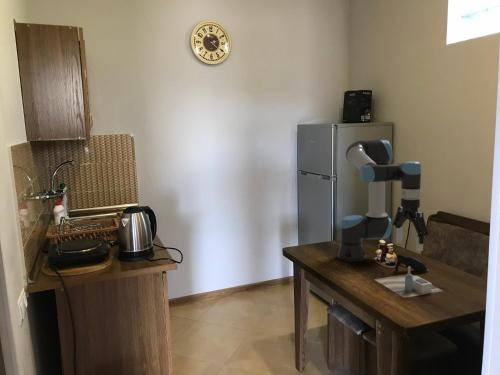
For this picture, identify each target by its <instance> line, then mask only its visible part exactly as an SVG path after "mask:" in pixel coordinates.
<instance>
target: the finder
mask: <svg viewBox="0 0 500 375" xmlns="http://www.w3.org/2000/svg"><path fill="white" fill-rule="evenodd" d="M432 285H433V283H432V282H430V281H428V280H426V279H424V278H422V277H420V276H418V275H413V289H414V290H416V291H418V292H419V293H421V294H423V295H425V294H424V293H429V294H431V293H430V292H432Z"/></svg>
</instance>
